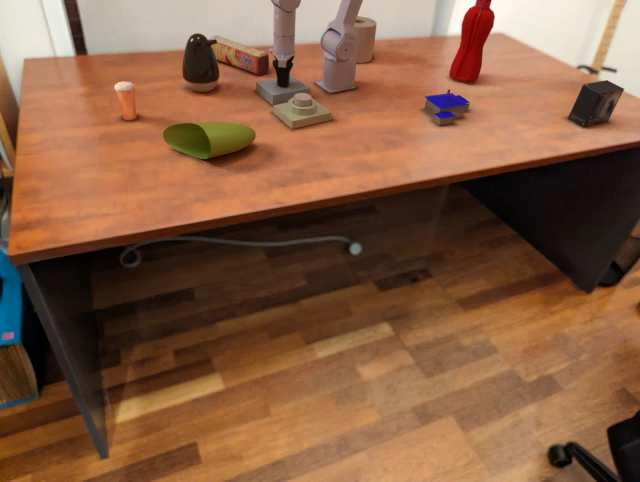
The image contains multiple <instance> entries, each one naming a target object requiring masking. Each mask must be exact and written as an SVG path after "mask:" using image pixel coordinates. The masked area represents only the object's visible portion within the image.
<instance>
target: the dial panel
mask: <svg viewBox="0 0 640 482" xmlns="http://www.w3.org/2000/svg"><path fill="white" fill-rule="evenodd" d="M255 90H256V91H255V92H256V93H257V94H259V96H260V97H262V98H263V99H264V100H266V102H268V103H269V104H270V105H272V106H273V105H278V104H283V103H288V100H290V99H291V98H293V97H294V95H295V94H297V93H306V94H309V95H311V94H310V93H311V87H310V86H308V85H306V84H305V83H304V82H303V81H301V80H299V79H298V78H297V77H296V76H294V75H290V81H289V86H288V87H279V86H277V77H275V78H270V79H263V80H258V81H256V82H255Z"/></svg>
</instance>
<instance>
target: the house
mask: <svg viewBox="0 0 640 482" xmlns="http://www.w3.org/2000/svg"><path fill="white" fill-rule="evenodd" d="M423 97H424V98H425V99H426V100H425V104H424V109H423V111H424V112H426V114H428V116H430V117H431V118H433V122H434V123H435V124H437V125H438V126H445V125H452V124H453V122H454V119H461V118H463V115H464V112H468V111H469V108H470V103H471V102H470V100H468V99H466V98H465V97H464V96H462V95H460V94H457V95H456V94H455V93H453V92H451V89H450V88H449V89H447V92H446V93H441V94H435V95H434V94H433V95H426V96H425V95H424V96H423Z"/></svg>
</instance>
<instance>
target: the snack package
mask: <svg viewBox="0 0 640 482" xmlns="http://www.w3.org/2000/svg"><path fill="white" fill-rule="evenodd" d="M214 39H216V40H217V43H216V44H213V45H211V46H212V48H213V50H214V53H215V56H216V59H217V61H219V62H222V63H224V64H227V65H231V66H232V67H233V66H234V67H236V68H239V69H241V70H244V71H247V72H250V73H252V74H254V75H257V76H261V75H263V74H265V73H267V72H268V71H269V68H270V57H269V52H266V51H264V50H260V49H258V48H257V49H256V48H254V47H252V46H249V45H246V44H242V43H240V42H237V41H234V40H231V39H229V38H225V37H223V36H221V35H213V36H211V37H210V38H209V39H208V40H214Z"/></svg>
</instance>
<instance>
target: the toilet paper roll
mask: <svg viewBox="0 0 640 482" xmlns="http://www.w3.org/2000/svg"><path fill="white" fill-rule="evenodd" d="M354 29H355V33H356V39H355V49H354V53H353V55H352V56H353V57H354V59H355V62H356V64H365V63H368V62H371V60H372V59H373V54H374V48H375V41H376V33H377V22H376V20H375V19H372V18H370V17H366V16H359V15H357V18H356V21H355V24H354Z"/></svg>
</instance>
